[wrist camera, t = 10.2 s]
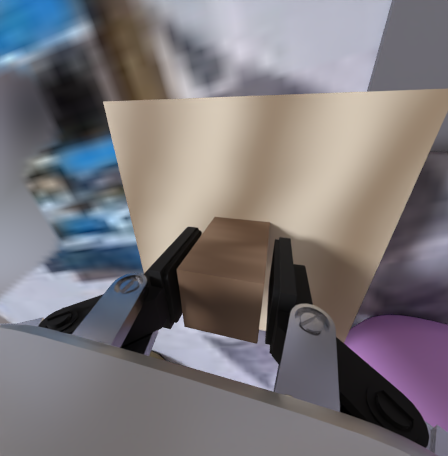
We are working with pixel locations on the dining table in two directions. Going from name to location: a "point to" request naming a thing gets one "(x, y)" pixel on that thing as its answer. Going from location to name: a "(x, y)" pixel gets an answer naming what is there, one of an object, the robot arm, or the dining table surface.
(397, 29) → the mat
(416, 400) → the teapot
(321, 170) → the lid
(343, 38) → the dining table surface
